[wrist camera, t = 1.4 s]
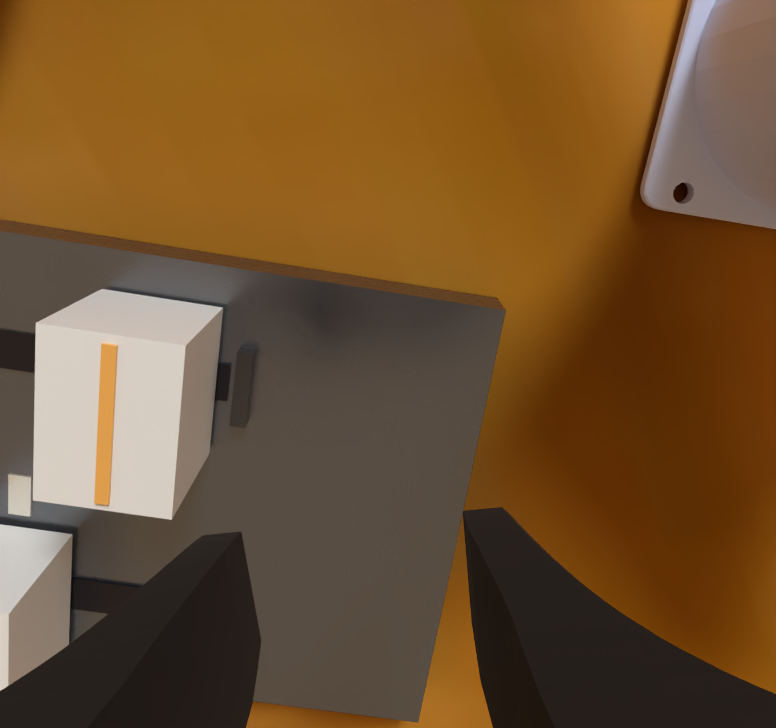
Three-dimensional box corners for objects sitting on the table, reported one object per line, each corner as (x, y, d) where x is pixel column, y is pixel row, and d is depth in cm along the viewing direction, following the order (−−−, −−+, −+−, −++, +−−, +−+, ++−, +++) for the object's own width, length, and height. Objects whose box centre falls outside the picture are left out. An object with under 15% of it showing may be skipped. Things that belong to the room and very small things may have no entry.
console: (496, 297, 20) (509, 315, 18) (416, 686, 23) (418, 735, 21) (-261, 178, 19) (-335, 182, 17) (-218, 603, 22) (-274, 647, 20)
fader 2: (223, 307, 18) (184, 347, 14) (209, 453, 19) (170, 522, 16) (101, 289, 18) (33, 323, 14) (95, 437, 19) (30, 502, 15)
